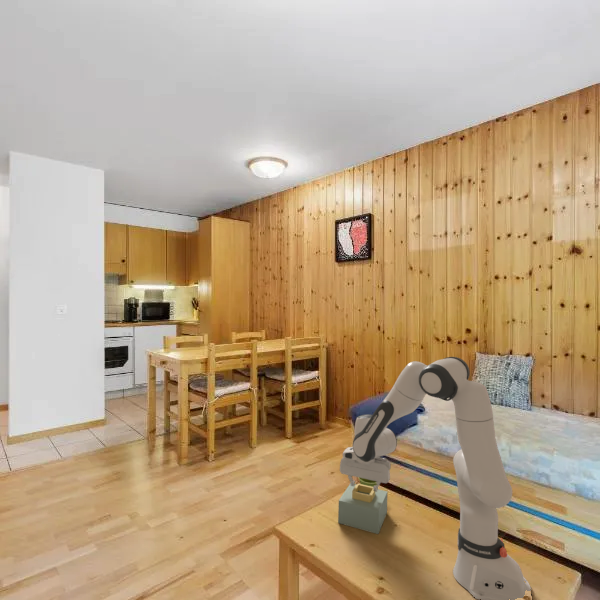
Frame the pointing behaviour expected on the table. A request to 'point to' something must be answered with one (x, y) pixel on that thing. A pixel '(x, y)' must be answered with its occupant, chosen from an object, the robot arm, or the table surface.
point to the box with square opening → (363, 508)
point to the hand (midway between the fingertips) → (364, 488)
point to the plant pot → (367, 482)
